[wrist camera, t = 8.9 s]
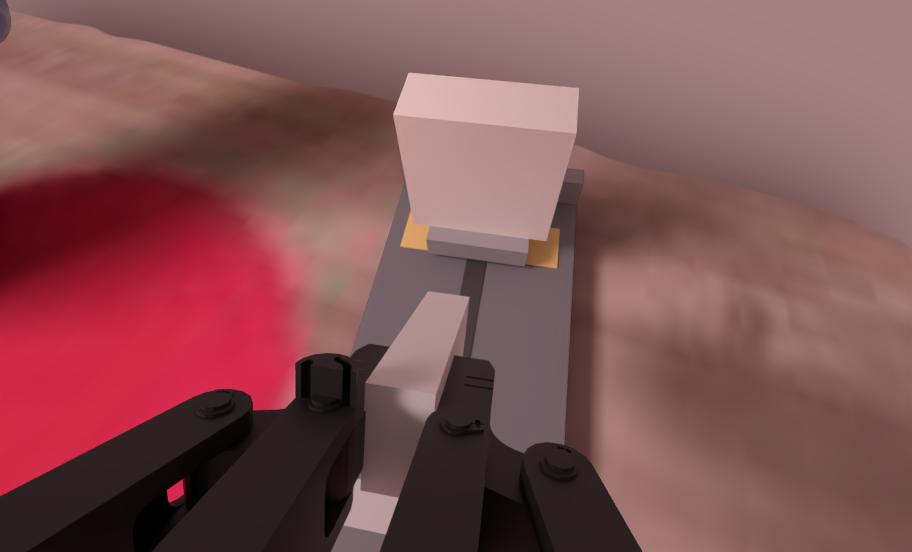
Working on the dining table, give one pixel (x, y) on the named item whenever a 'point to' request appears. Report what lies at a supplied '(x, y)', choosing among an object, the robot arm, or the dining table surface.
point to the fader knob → (484, 161)
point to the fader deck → (481, 334)
